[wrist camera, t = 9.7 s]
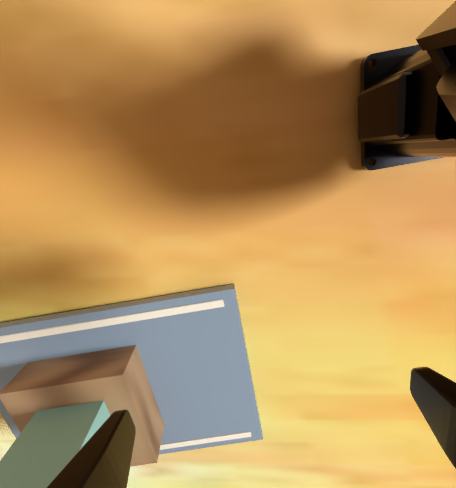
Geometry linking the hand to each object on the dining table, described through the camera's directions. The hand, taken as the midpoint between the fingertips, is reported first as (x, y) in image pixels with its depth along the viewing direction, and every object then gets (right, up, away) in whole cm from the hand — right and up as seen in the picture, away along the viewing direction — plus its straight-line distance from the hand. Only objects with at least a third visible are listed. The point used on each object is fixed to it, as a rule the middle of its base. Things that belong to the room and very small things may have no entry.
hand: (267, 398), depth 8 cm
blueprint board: (-10, -7, +15) cm, 20 cm away
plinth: (-12, -8, +14) cm, 20 cm away
